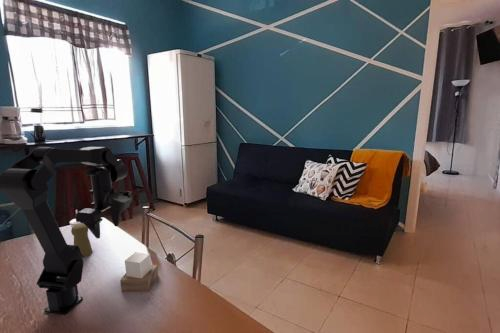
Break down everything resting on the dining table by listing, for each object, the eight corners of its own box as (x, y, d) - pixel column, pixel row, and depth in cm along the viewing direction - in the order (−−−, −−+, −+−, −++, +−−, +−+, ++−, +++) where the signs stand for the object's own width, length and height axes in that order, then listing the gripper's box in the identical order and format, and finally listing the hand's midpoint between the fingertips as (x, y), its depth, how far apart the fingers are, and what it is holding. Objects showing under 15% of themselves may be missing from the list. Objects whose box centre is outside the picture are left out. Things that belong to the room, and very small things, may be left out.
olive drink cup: (77, 259, 99) (73, 230, 97) (70, 254, 102) (66, 226, 100) (95, 252, 104) (91, 224, 101) (88, 248, 107) (84, 220, 105)
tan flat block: (149, 292, 82) (147, 280, 81) (121, 292, 82) (120, 280, 81) (158, 276, 90) (157, 264, 89) (133, 276, 90) (131, 264, 89)
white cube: (141, 278, 82) (139, 262, 81) (126, 276, 83) (124, 260, 82) (151, 268, 87) (149, 254, 86) (137, 266, 88) (135, 252, 87)
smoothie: (68, 246, 109) (63, 211, 106) (82, 238, 115) (78, 205, 112) (82, 248, 107) (76, 213, 104) (95, 240, 113) (91, 207, 110)
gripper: (105, 196, 79) (111, 247, 83) (141, 179, 97) (145, 222, 101) (70, 194, 81) (78, 244, 85) (112, 178, 99) (116, 220, 103)
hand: (107, 231), depth 93 cm, fingers open, 9 cm apart
